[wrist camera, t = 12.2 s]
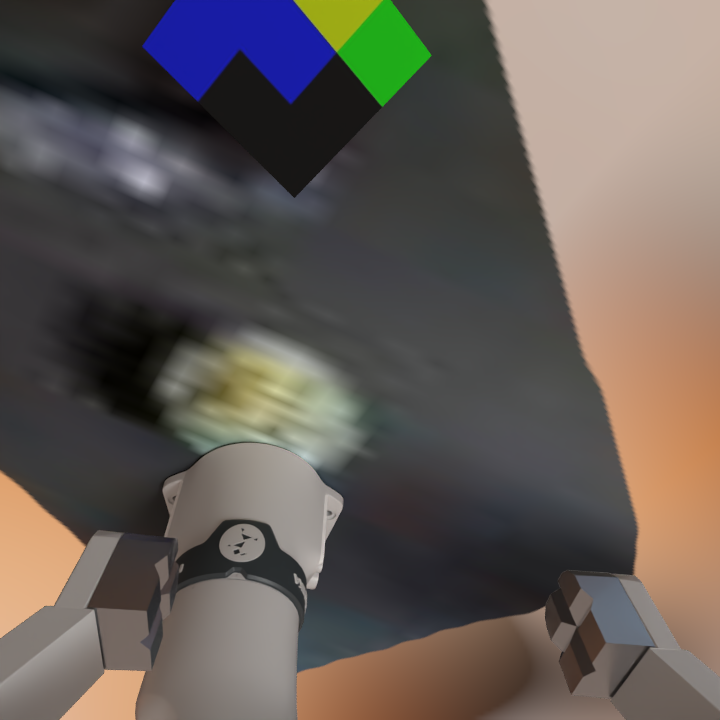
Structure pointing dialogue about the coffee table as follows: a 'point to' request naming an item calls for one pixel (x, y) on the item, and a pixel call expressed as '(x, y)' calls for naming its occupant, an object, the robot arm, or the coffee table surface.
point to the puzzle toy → (288, 72)
